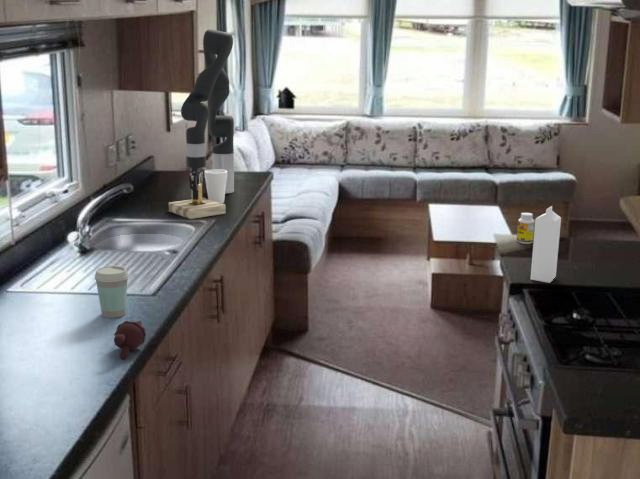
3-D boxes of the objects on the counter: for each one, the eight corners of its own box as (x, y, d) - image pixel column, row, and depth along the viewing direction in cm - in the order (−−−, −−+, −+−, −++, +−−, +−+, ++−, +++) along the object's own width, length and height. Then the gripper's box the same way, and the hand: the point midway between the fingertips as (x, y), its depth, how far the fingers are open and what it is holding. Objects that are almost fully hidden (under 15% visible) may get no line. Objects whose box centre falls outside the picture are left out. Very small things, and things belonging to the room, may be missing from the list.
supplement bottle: (513, 240, 296) (515, 212, 293) (527, 239, 297) (529, 211, 295) (522, 244, 290) (524, 216, 288) (535, 243, 292) (538, 215, 290)
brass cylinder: (190, 208, 330) (189, 183, 327) (198, 207, 332) (198, 182, 329) (195, 210, 327) (194, 185, 324) (204, 209, 329) (203, 183, 326)
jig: (168, 211, 331) (168, 202, 330) (203, 206, 341) (203, 197, 340) (190, 219, 319) (189, 210, 318) (225, 213, 329) (225, 204, 328)
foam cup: (229, 200, 352) (229, 169, 348) (225, 205, 343) (224, 173, 339) (207, 199, 353) (207, 168, 349) (202, 204, 344) (201, 172, 340)
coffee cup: (132, 318, 215) (130, 273, 212) (98, 321, 212) (95, 276, 209) (128, 307, 223) (126, 263, 220) (95, 310, 220) (92, 266, 217)
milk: (555, 278, 254) (562, 207, 248) (549, 283, 249) (556, 210, 243) (535, 274, 257) (542, 204, 251) (529, 279, 252) (536, 207, 246)
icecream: (121, 311, 202) (98, 339, 188) (150, 305, 200) (128, 333, 186) (130, 336, 204) (108, 366, 190) (159, 331, 202) (138, 361, 188)
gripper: (201, 158, 317) (202, 202, 321) (209, 152, 330) (210, 194, 335) (181, 157, 317) (182, 201, 322) (190, 151, 331) (191, 194, 335)
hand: (196, 198), depth 328 cm, fingers closed on brass cylinder, 4 cm apart
